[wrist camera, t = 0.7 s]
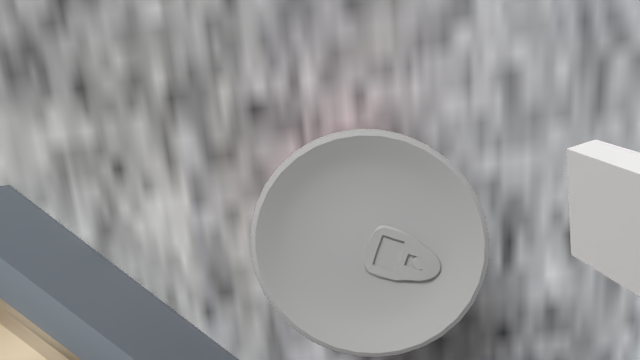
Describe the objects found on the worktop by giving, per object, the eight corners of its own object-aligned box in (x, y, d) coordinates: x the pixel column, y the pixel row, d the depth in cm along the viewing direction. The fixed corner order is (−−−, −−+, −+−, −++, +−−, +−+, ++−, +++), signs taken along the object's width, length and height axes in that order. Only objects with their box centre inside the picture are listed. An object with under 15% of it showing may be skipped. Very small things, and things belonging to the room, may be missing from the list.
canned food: (429, 278, 28) (485, 367, 17) (282, 270, 28) (243, 352, 17) (437, 136, 27) (501, 133, 16) (288, 130, 27) (251, 122, 17)
